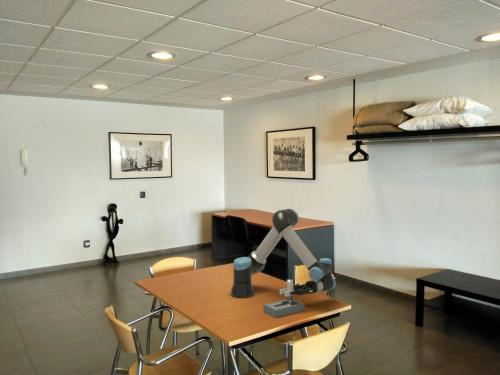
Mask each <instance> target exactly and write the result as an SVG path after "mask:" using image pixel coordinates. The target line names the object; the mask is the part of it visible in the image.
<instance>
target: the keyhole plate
mask: <svg viewBox="0 0 500 375" xmlns="http://www.w3.org/2000/svg"><path fill="white" fill-rule="evenodd" d="M286 303H288V300H287V298H286V299H282V300H277V301H273V302H268V303H263V308H262V309H263V310H262V311H263V312H264V313H266V314H267V315H270V316H272V317H273V318H277V319H278V318H280V317H285V316H289V315H293V314H298V313H301V312H305V303H302V302H301V301H298V300H296V299H293V300H292V303H293V304H294V305H291V306H287V305H286Z"/></svg>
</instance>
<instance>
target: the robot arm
mask: <svg viewBox="0 0 500 375" xmlns="http://www.w3.org/2000/svg"><path fill="white" fill-rule="evenodd" d="M271 222H272V225H273V226H272V227H271V229H270V231H269V232H268V233H267V234H266V236H265V237H264V238H263V240H262V242H261V243H260V244H259V245H258V247H257V248H256V249H255V250H253V251H252V252H251V253H250V254H249V255H248V256H241V257H237V258H235V259H234V261H233V266H232V267H233V272H232V273H233V284H232V286H231V287H232V288H231V290H230V296H232V297H234V298H238V299H239V298H240V299H244V298H245V299H247V298H251V297H253V296H254V295H255V290H254V287H253V284H252V276H254V275H255V274H259V273H260V272H262V271H263V270H264V268H265V267H266V266H265V265H266V263H267V258H268V256H269V255H270V254H271V252H273V250H274V249H275V247H276V246H277V244H278V243H279V242H280V240H281V239H282V238H283V239H284V240H285V242H286V243H287V244H288V246H290V247H291V249H292V251H293V252H294V253H295V255H296V256H297V257H298V258H299V259H300V261H301V262H302V264H303V265H304V266H305V268H306V269H307V270H308V275H309V278H310V279H312V280H308V281H306V282H305V283H303V284H300V283H297V284H293V290H289V291H287V287H285V288H281V289H280V288H279V295H284V297H286V298H287V296H290V295H295V296H303V295H308V294H309V295H311V294H315V293H316V294H318V293H320V292H325V291H330V290H334V289H335V288H336V285H337V282H336V280H335V278H334V277H333V262H332V259H331V258H328V257H324V258H320V259H319V261H318V260H317V259H316V257H315V255H314V254H312V252H311V251H310V249H309V248H308V247H307V245H306V244H305V243H304V242H303V240H302V239H301V238H300V236H299V235H298V233H296V231H295V229H293V227H295V226H296V225H297V224H298V223H299V213H297V211H296V210H295V209H294V208H293V209H292V208H286V209H279V210H277V211H275V212H274V214H273V215H272V218H271Z"/></svg>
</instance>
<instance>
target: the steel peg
mask: <svg viewBox="0 0 500 375" xmlns="http://www.w3.org/2000/svg"><path fill="white" fill-rule="evenodd" d="M293 285H294V280H293V279H290V278H289V279H286V288H287V291H289V290H293ZM294 295H295V294H294ZM294 295H290V296H286V299H287V300H288V303H286V305H287V306H291V305H294V304H293V303H292V300H295V299H294V297H295V296H294Z"/></svg>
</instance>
